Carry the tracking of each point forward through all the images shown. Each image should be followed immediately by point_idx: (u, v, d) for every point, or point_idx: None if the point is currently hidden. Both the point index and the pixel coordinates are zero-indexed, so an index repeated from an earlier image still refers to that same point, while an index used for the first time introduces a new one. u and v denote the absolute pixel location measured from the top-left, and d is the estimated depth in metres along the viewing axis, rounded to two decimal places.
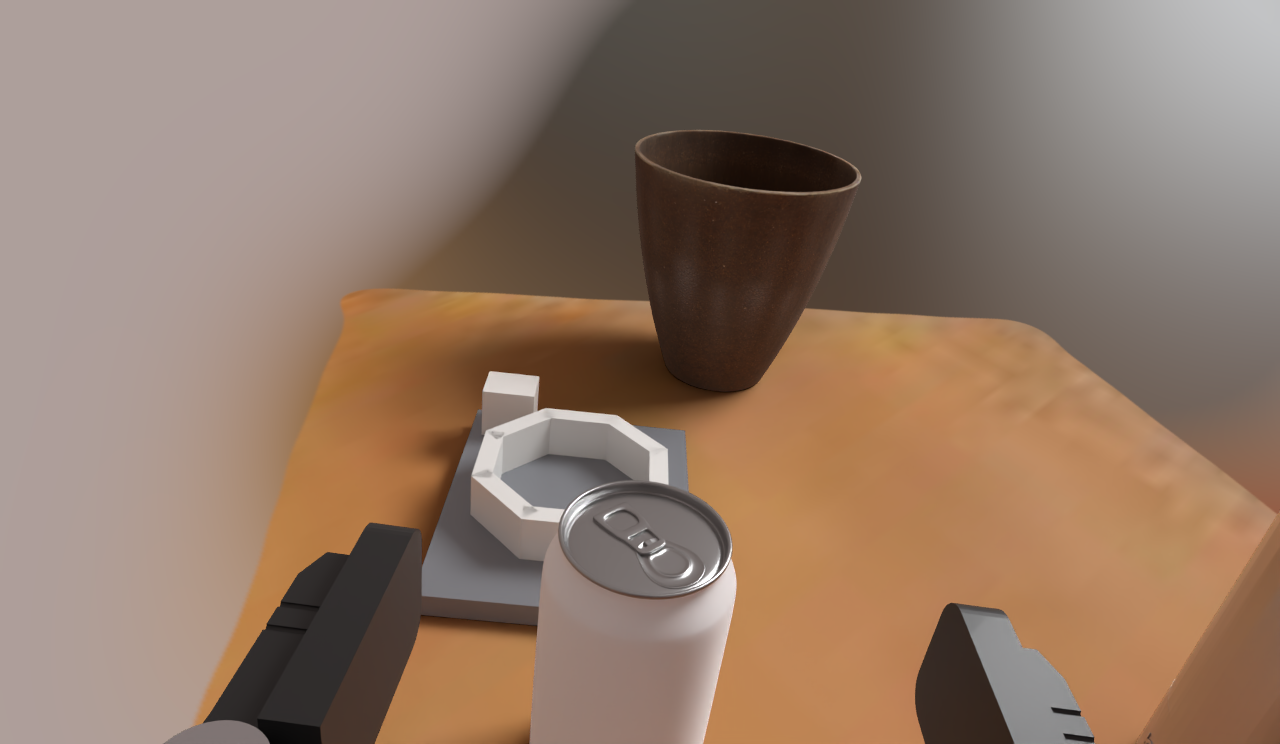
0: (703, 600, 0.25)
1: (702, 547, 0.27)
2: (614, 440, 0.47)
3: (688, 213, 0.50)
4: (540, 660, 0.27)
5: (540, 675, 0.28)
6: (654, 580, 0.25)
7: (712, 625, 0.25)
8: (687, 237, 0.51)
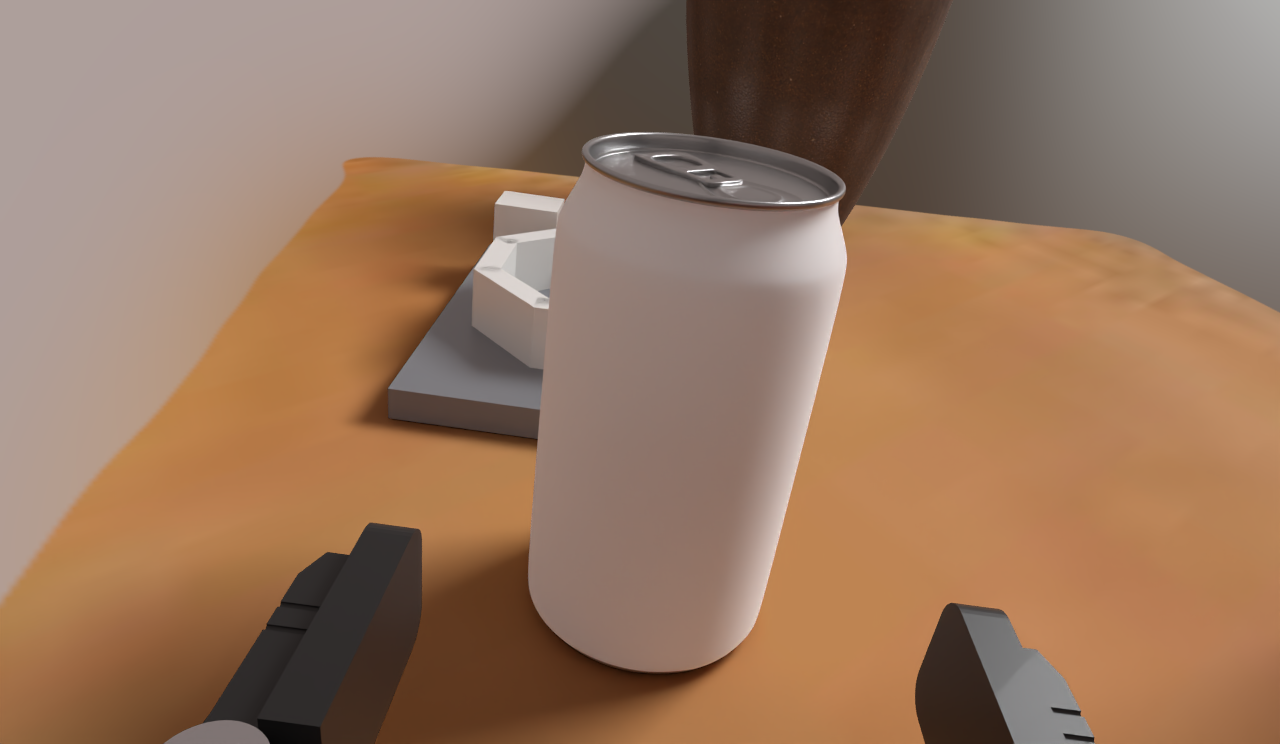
0: (805, 234, 0.16)
1: (798, 191, 0.18)
2: None
3: (750, 10, 0.42)
4: (548, 370, 0.18)
5: (548, 395, 0.19)
6: None
7: (817, 281, 0.16)
8: (748, 43, 0.42)
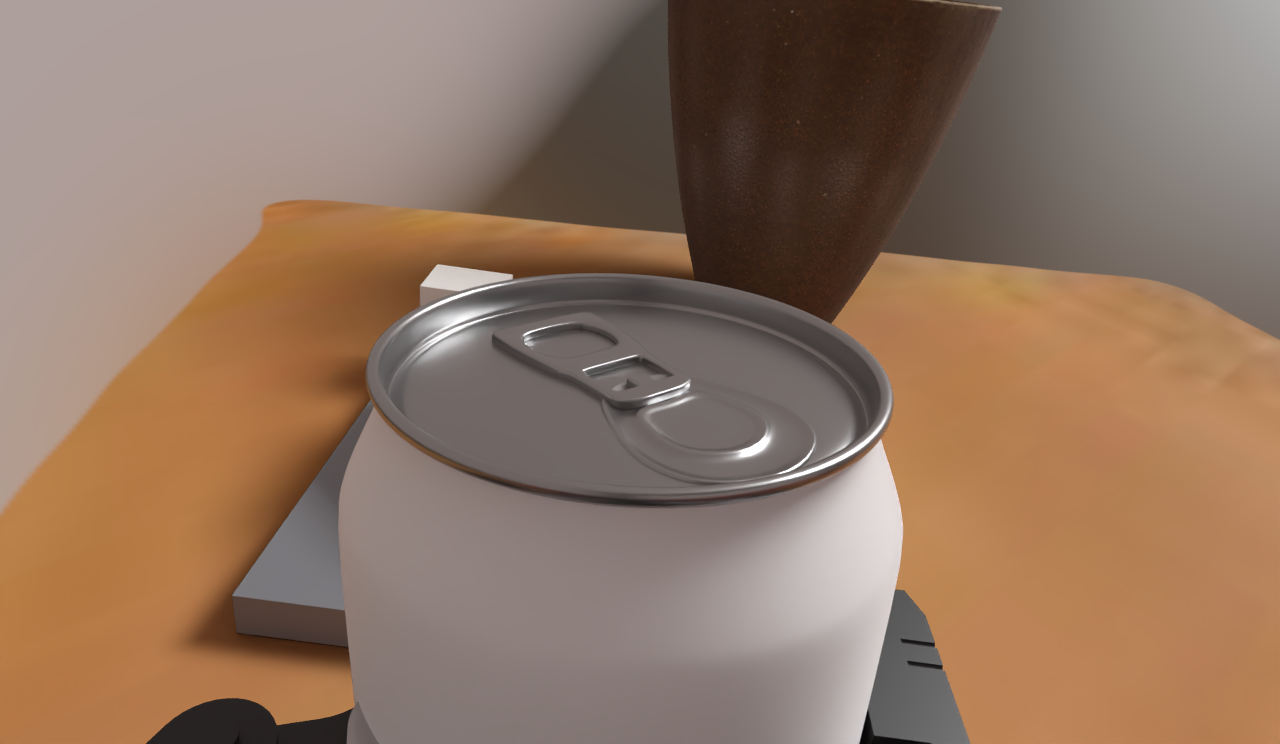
0: (820, 526, 0.07)
1: (798, 393, 0.09)
2: None
3: (747, 36, 0.33)
4: None
5: None
6: (655, 463, 0.08)
7: (853, 614, 0.08)
8: (744, 77, 0.34)
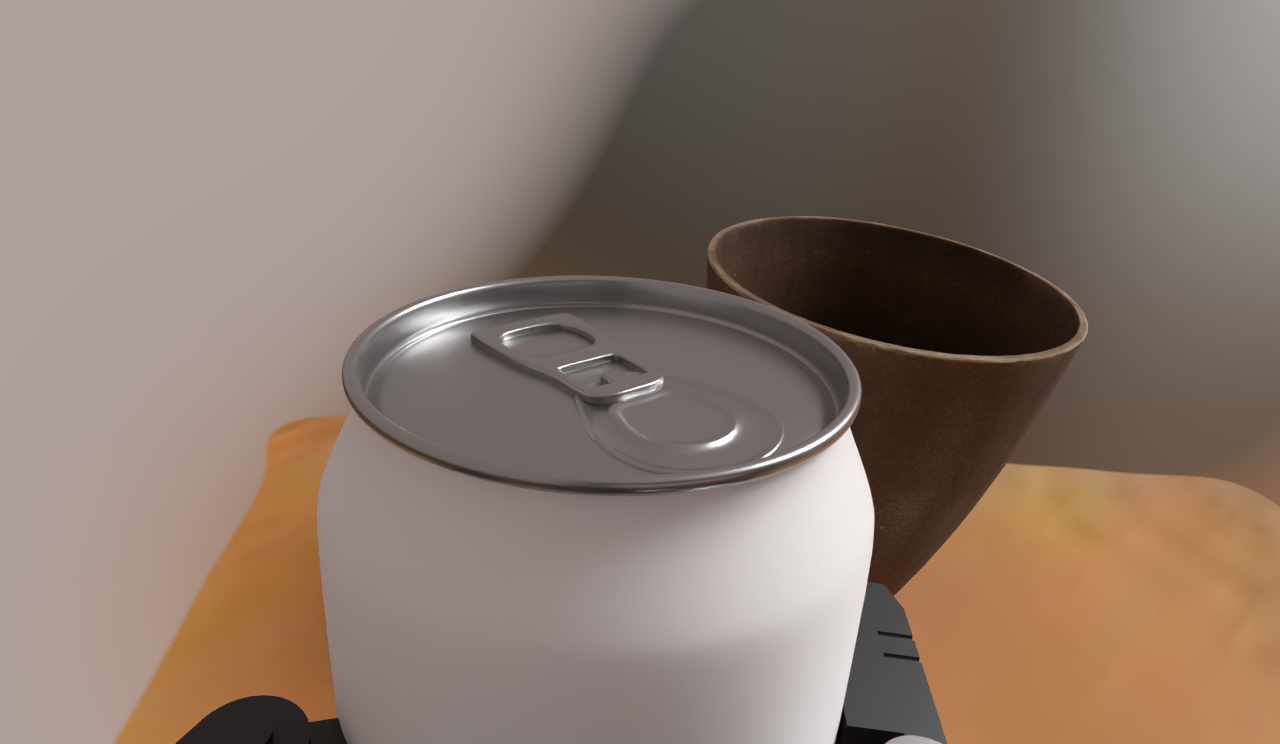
0: (785, 516, 0.07)
1: (770, 389, 0.09)
2: None
3: None
4: None
5: None
6: (623, 455, 0.08)
7: (820, 603, 0.08)
8: None
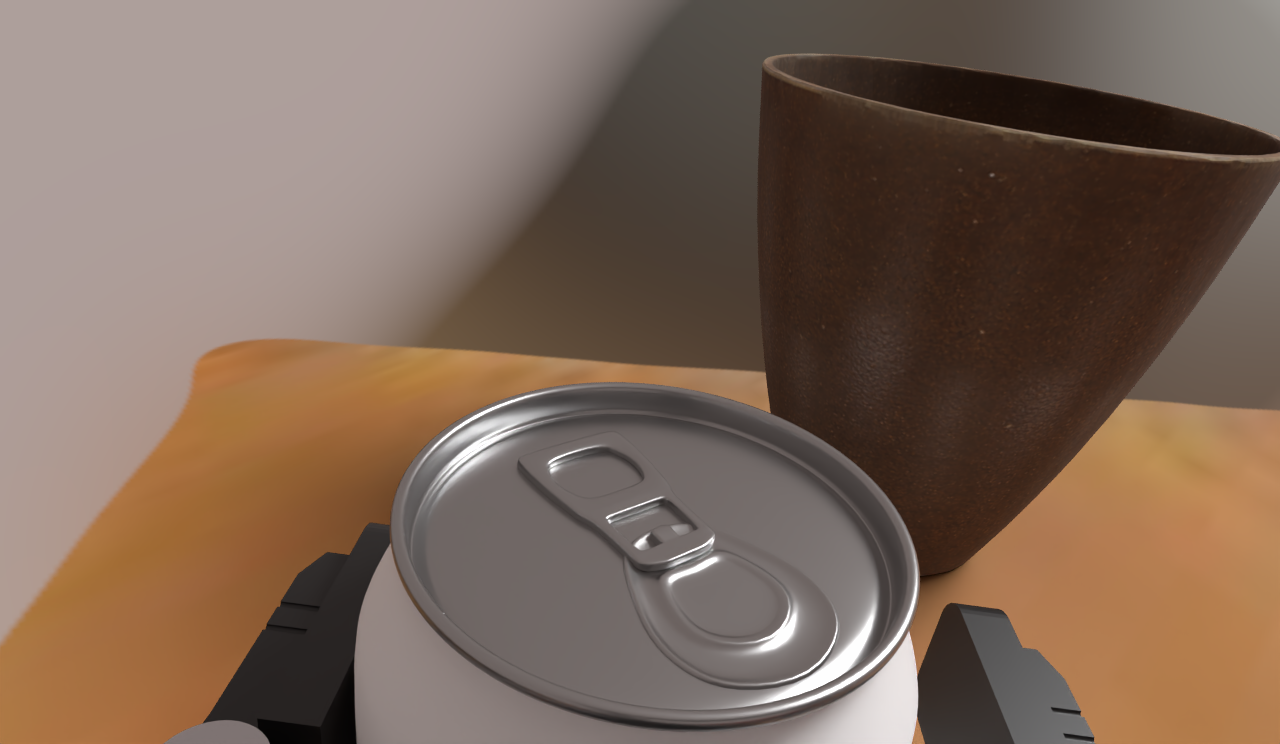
0: (836, 734, 0.07)
1: (822, 557, 0.09)
2: None
3: (908, 204, 0.21)
4: None
5: None
6: (674, 654, 0.07)
7: None
8: (897, 261, 0.21)
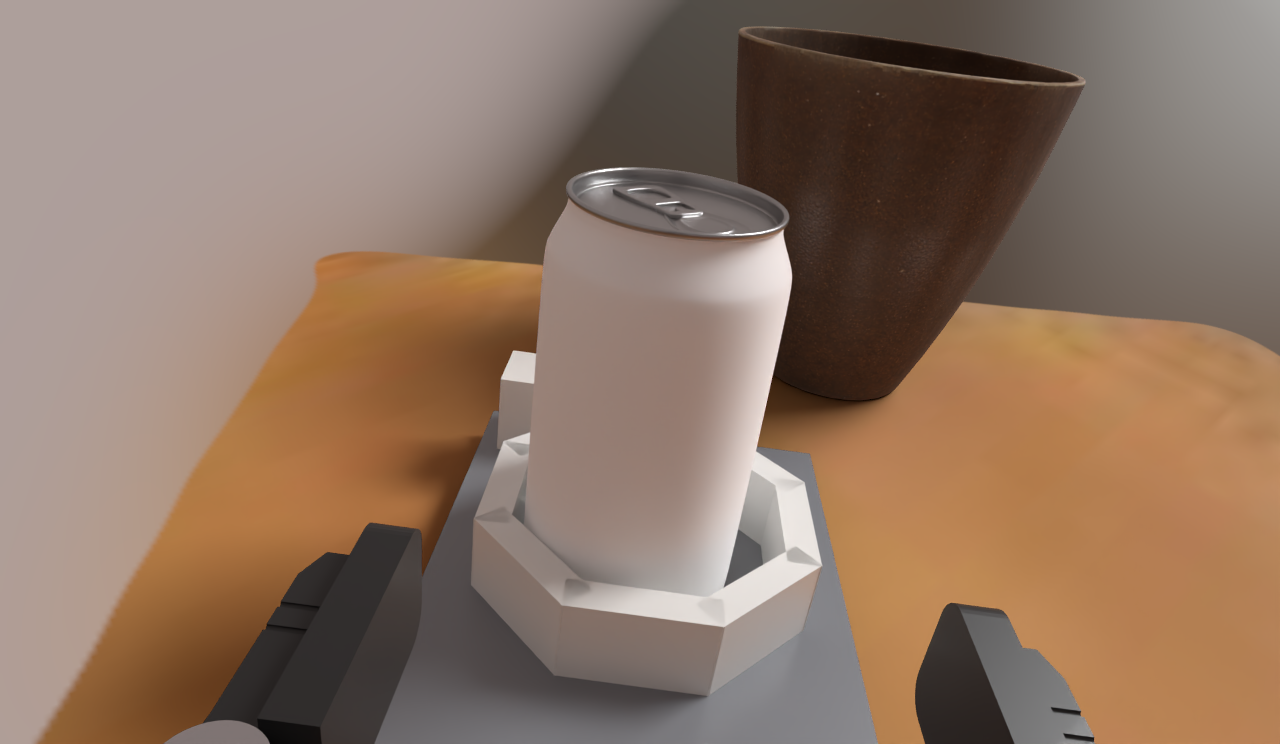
0: (748, 260, 0.19)
1: (750, 221, 0.21)
2: None
3: (828, 115, 0.32)
4: (538, 371, 0.22)
5: (537, 393, 0.22)
6: None
7: (760, 299, 0.19)
8: (823, 155, 0.33)
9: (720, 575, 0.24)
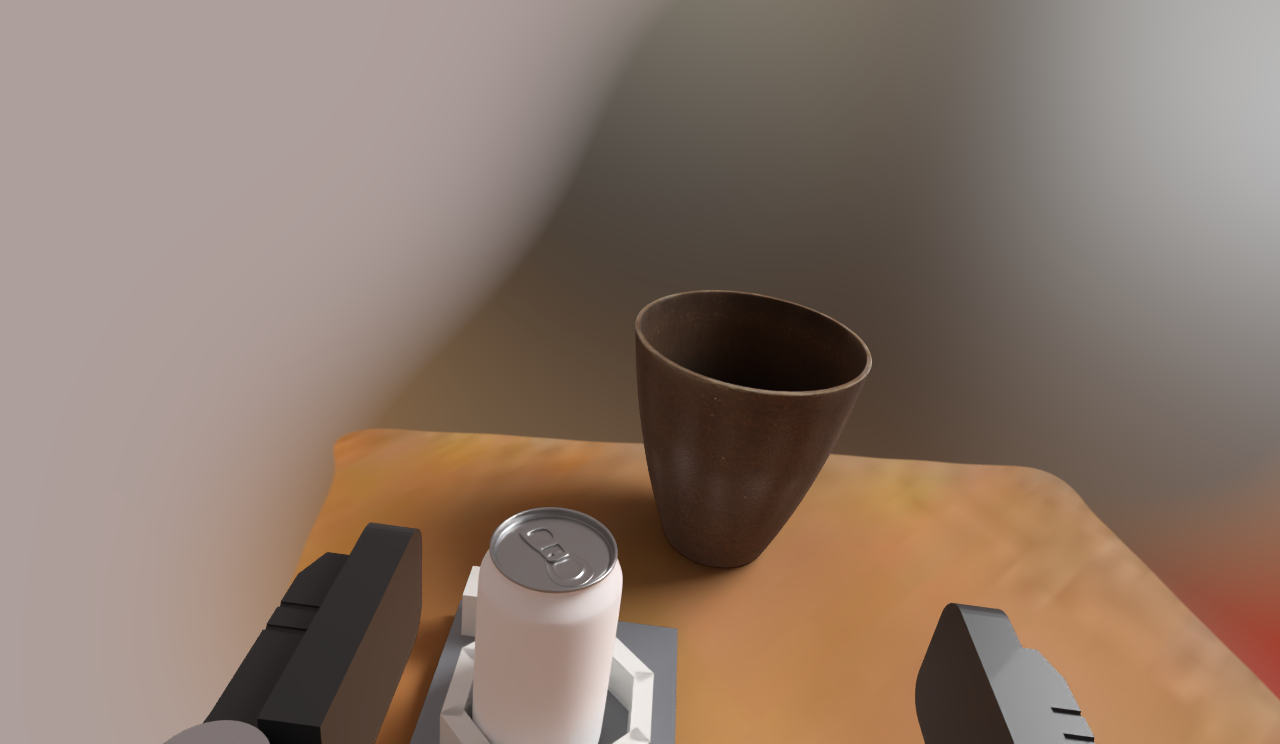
0: (587, 597, 0.34)
1: (595, 559, 0.36)
2: None
3: (686, 405, 0.48)
4: (476, 636, 0.37)
5: (476, 648, 0.37)
6: (553, 580, 0.35)
7: (594, 616, 0.35)
8: (685, 427, 0.48)
9: None
